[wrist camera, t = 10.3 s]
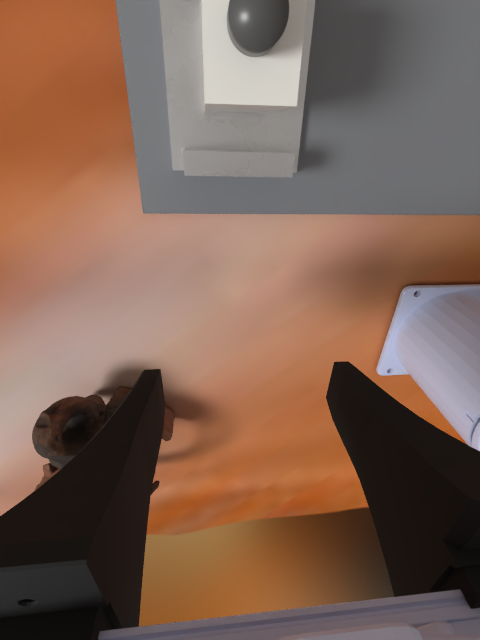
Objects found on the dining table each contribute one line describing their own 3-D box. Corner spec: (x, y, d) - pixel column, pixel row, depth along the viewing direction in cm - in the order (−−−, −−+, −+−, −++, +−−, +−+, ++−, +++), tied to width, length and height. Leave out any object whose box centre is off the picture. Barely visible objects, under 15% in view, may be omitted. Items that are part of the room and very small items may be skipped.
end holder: (316, -33, 13) (337, -63, 11) (294, 171, 17) (307, 177, 15) (156, -46, 12) (147, -80, 10) (173, 169, 16) (168, 175, 14)
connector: (274, -4, 13) (326, -103, 7) (268, 113, 15) (305, 103, 9) (201, -8, 13) (198, -114, 7) (204, 111, 15) (204, 101, 9)
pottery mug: (200, 427, 29) (167, 532, 24) (124, 415, 33) (83, 504, 28) (117, 359, 20) (41, 502, 16) (27, 355, 24) (-54, 468, 20)
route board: (620, -70, 14) (648, -83, 13) (498, 211, 20) (511, 215, 19) (104, -123, 12) (97, -142, 11) (146, 209, 18) (143, 213, 17)
